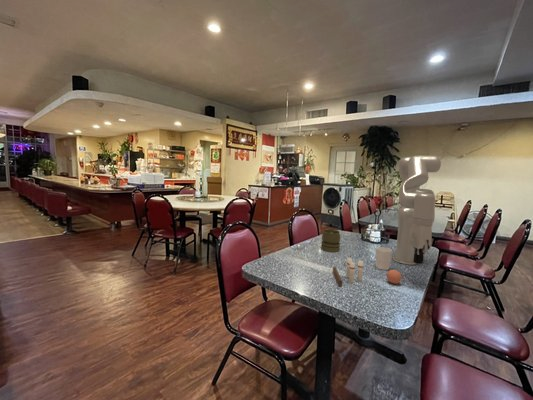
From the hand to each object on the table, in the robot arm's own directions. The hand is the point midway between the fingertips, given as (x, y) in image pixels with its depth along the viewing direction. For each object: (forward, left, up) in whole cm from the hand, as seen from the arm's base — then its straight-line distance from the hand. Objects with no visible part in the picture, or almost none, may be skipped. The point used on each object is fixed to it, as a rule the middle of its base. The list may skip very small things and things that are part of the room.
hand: (418, 262), depth 107 cm
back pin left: (+29, +2, -10) cm, 30 cm away
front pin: (+24, -1, -10) cm, 26 cm away
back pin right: (+29, -3, -10) cm, 31 cm away
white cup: (+7, -20, -11) cm, 23 cm away
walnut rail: (+34, -1, -10) cm, 36 cm away
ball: (+9, -1, -7) cm, 12 cm away
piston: (+30, -46, -11) cm, 56 cm away
